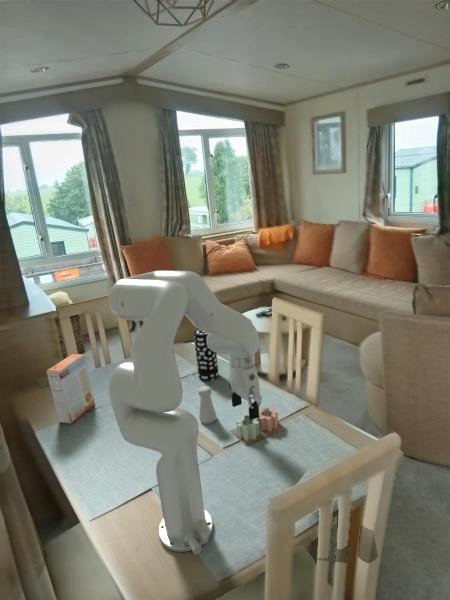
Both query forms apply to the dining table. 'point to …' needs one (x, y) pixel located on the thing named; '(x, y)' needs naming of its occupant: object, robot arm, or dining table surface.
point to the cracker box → (71, 388)
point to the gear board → (262, 434)
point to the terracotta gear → (268, 420)
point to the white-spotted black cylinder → (205, 357)
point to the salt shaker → (206, 406)
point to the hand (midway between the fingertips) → (245, 411)
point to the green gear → (248, 429)
